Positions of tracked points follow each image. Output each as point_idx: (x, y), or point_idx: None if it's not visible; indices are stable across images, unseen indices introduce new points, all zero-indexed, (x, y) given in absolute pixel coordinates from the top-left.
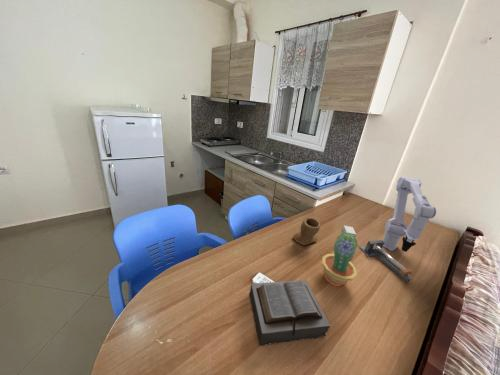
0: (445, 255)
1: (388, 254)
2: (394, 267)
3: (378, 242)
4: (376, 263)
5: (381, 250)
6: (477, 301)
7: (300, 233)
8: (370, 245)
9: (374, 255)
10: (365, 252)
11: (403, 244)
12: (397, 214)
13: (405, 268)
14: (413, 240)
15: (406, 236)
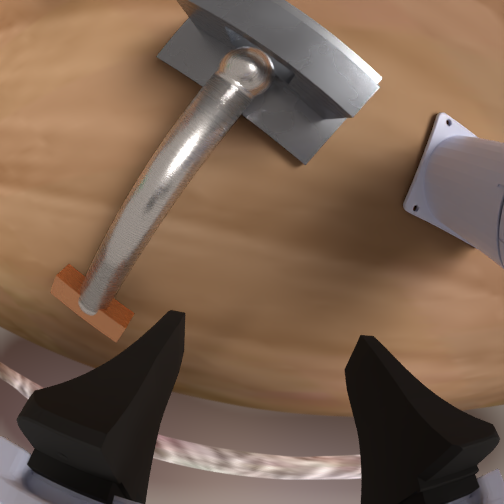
0: (480, 403)
1: (160, 177)
2: None
3: (278, 46)
4: (122, 119)
5: (191, 107)
6: (243, 461)
7: None
8: (182, 4)
9: (196, 82)
10: (186, 22)
11: (114, 365)
12: None
13: (88, 304)
14: (361, 457)
15: (413, 414)
